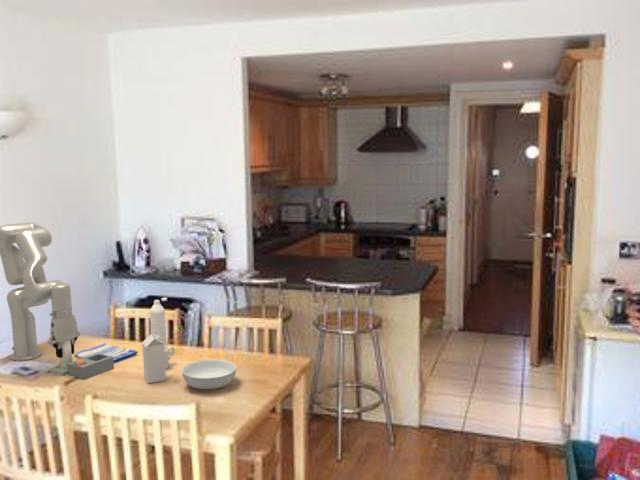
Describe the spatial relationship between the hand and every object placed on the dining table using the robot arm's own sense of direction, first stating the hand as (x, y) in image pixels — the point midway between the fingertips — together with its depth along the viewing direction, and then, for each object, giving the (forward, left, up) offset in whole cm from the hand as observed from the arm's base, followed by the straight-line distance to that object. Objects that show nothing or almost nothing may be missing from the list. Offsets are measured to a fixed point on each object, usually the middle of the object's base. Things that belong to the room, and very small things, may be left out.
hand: (65, 354), depth 251 cm
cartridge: (0, 0, -4) cm, 4 cm away
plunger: (+10, 0, -4) cm, 11 cm away
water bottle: (+18, +36, -7) cm, 41 cm away
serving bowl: (+63, +19, -7) cm, 66 cm away
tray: (0, 0, -7) cm, 7 cm away
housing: (+10, +4, -7) cm, 13 cm away
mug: (+31, +23, -7) cm, 39 cm away
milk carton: (+40, +12, -7) cm, 42 cm away
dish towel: (-1, +21, -8) cm, 22 cm away
